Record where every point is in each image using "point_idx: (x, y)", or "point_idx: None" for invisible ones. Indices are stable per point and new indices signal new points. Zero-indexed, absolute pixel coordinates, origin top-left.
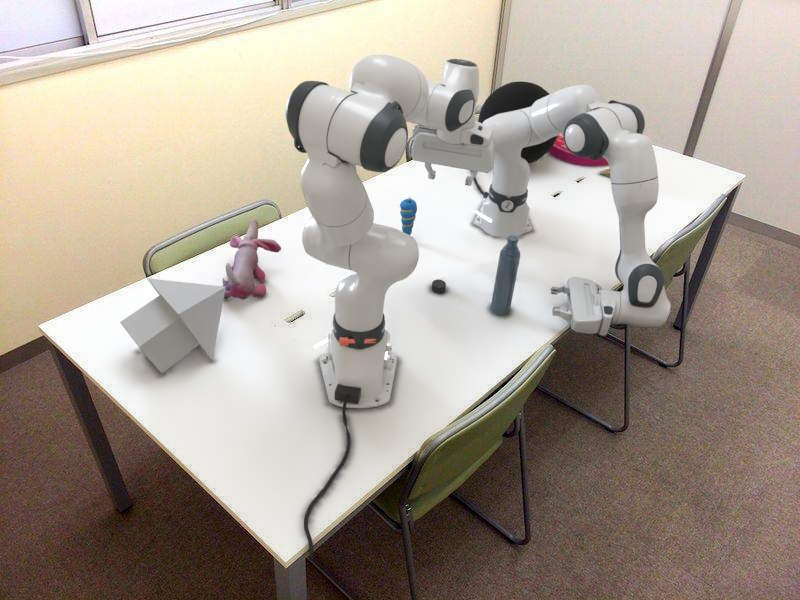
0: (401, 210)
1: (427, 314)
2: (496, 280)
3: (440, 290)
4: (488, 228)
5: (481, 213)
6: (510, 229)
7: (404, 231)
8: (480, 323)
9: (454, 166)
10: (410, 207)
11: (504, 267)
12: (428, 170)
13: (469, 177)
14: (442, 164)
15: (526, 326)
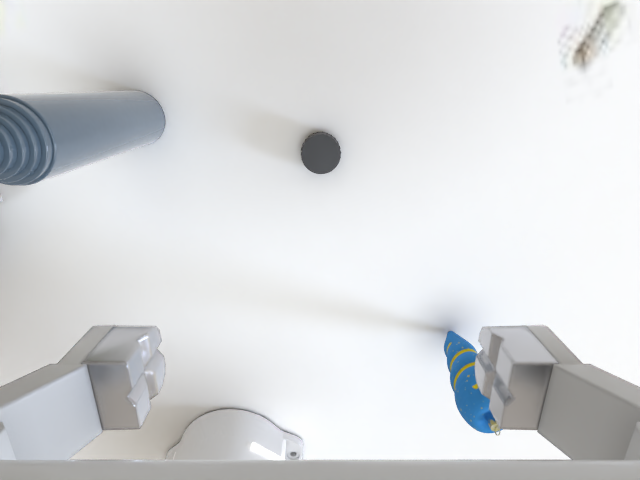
0: None
1: (322, 19)
2: (109, 109)
3: (311, 135)
4: (259, 427)
5: None
6: (202, 434)
7: (464, 340)
8: (169, 33)
9: (236, 473)
10: (480, 395)
11: (40, 94)
12: (607, 381)
13: (104, 413)
14: (477, 472)
15: (49, 66)
